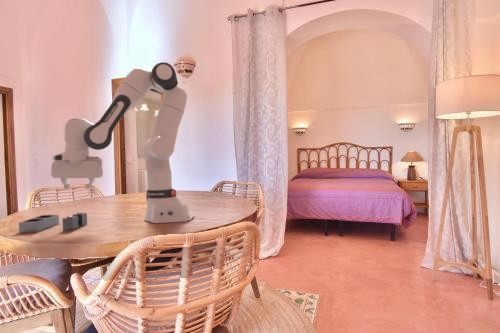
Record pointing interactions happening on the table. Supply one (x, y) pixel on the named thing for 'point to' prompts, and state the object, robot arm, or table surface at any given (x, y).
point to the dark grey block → (70, 223)
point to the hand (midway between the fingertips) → (78, 188)
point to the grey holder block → (38, 223)
